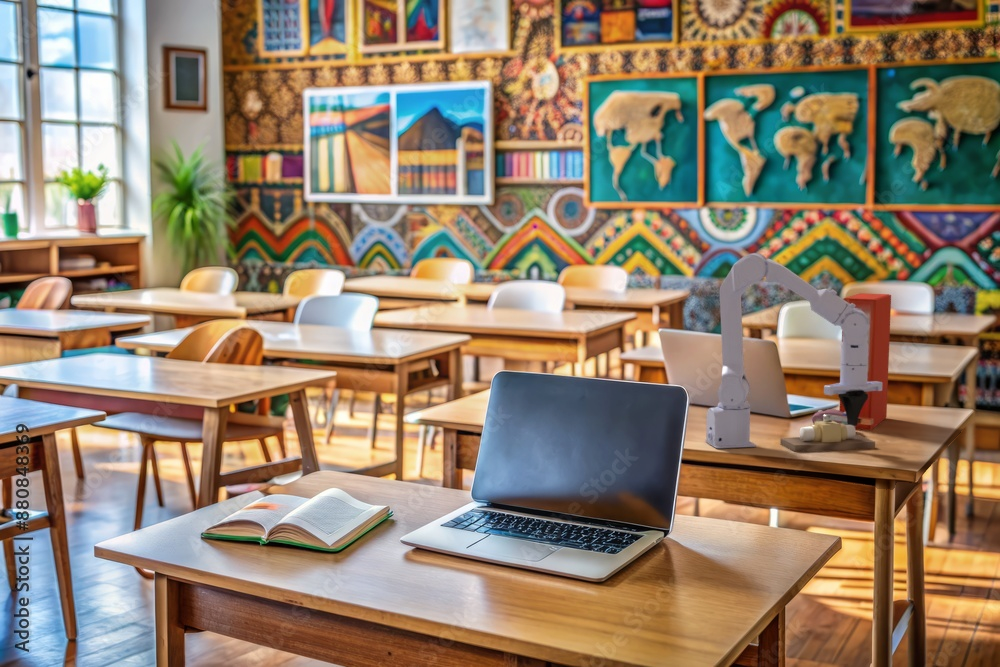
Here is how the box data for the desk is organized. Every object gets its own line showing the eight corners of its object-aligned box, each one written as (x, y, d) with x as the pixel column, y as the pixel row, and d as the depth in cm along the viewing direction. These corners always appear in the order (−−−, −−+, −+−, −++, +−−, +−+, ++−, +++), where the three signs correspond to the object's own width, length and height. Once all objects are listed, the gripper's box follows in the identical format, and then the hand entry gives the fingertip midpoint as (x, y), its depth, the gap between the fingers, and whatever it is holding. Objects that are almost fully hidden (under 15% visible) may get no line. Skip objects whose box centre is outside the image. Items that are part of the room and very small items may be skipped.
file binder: (887, 418, 278) (891, 294, 274) (872, 430, 263) (876, 299, 260) (855, 415, 282) (858, 293, 278) (838, 427, 267) (841, 298, 264)
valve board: (794, 452, 241) (794, 445, 240) (780, 444, 248) (780, 438, 248) (875, 448, 243) (875, 441, 243) (858, 440, 251) (858, 434, 251)
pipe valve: (806, 445, 243) (806, 425, 242) (798, 441, 247) (798, 422, 247) (856, 442, 244) (857, 423, 244) (847, 438, 249) (848, 420, 248)
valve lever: (821, 421, 245) (821, 414, 245) (825, 420, 247) (825, 413, 246) (870, 426, 238) (870, 419, 238) (873, 425, 240) (873, 418, 240)
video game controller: (811, 437, 264) (809, 414, 260) (815, 426, 267) (813, 403, 263) (854, 440, 259) (852, 417, 256) (857, 429, 262) (855, 405, 259)
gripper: (839, 368, 232) (838, 430, 233) (892, 364, 238) (891, 425, 239) (818, 364, 239) (816, 425, 240) (870, 360, 244) (868, 419, 245)
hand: (852, 424), depth 240 cm, fingers closed, pressing on valve lever
